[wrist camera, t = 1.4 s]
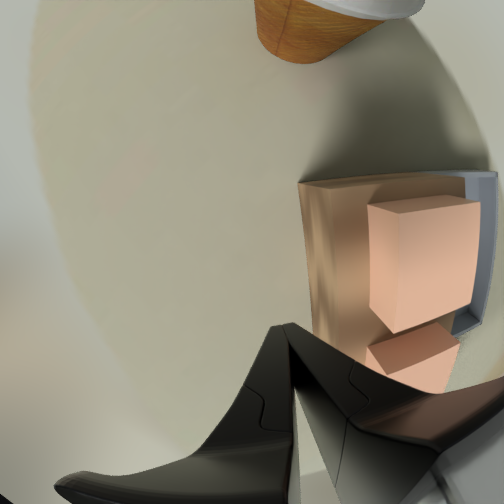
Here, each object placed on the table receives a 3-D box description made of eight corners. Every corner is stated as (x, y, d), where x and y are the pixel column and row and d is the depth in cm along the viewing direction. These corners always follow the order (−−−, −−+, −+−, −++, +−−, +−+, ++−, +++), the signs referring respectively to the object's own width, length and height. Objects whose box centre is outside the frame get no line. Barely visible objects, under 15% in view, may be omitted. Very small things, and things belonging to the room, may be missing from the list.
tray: (466, 312, 25) (481, 323, 22) (402, 339, 24) (416, 355, 22) (477, 169, 20) (497, 171, 17) (407, 171, 19) (429, 173, 17)
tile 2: (442, 284, 15) (470, 303, 12) (369, 307, 15) (393, 333, 12) (446, 194, 13) (480, 202, 10) (367, 204, 13) (398, 213, 10)
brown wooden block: (402, 339, 24) (437, 379, 18) (314, 365, 24) (335, 418, 18) (407, 171, 19) (464, 177, 13) (297, 183, 19) (329, 189, 13)
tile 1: (422, 379, 17) (439, 401, 15) (360, 404, 17) (373, 431, 14) (436, 321, 16) (460, 342, 13) (367, 346, 16) (386, 375, 13)
